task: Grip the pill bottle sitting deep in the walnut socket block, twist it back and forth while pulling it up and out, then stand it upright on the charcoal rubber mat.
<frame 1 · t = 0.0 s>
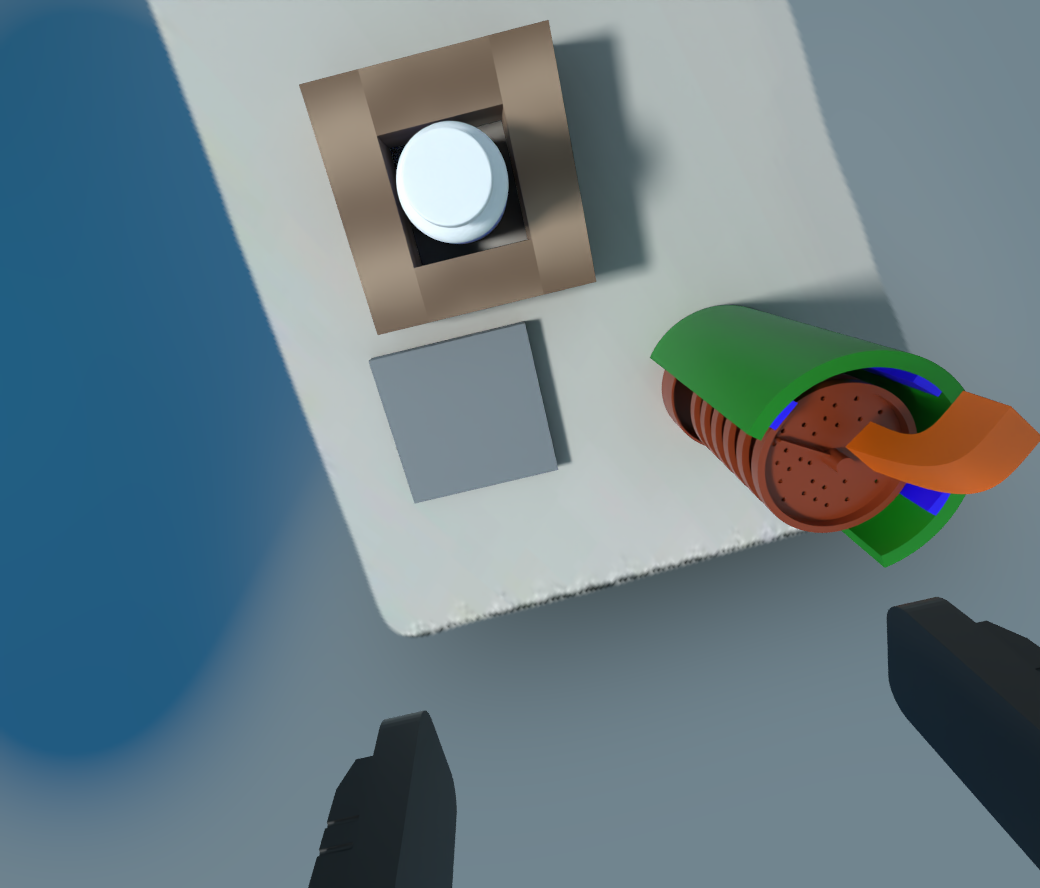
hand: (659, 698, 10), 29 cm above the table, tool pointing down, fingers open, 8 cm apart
green brown cylinder: (722, 374, 39), on the table
pill bottle: (460, 195, 34), resting in socket block
mat: (467, 413, 38), on the table
socket block: (460, 195, 34), on the table
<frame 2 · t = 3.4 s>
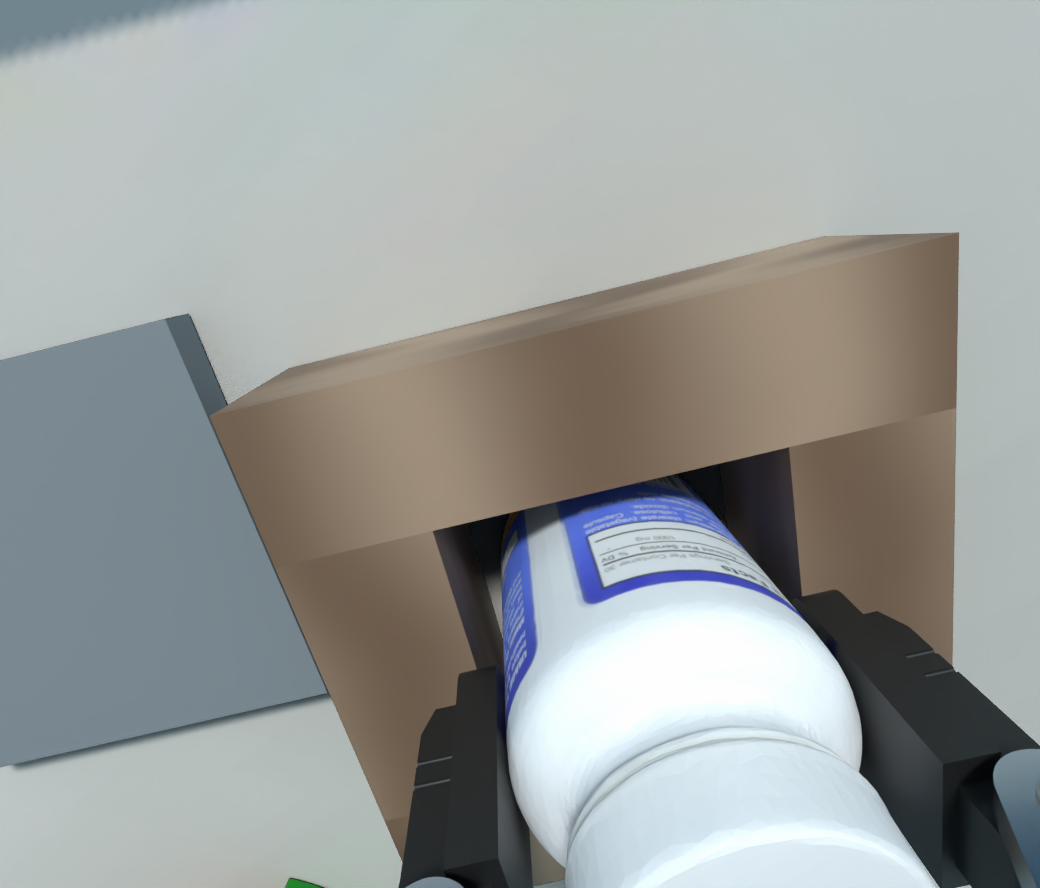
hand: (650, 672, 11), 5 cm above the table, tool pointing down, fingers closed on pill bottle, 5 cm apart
pill bottle: (601, 536, 16), resting in socket block, touching gripper
mat: (83, 554, 15), on the table
socket block: (602, 540, 15), on the table
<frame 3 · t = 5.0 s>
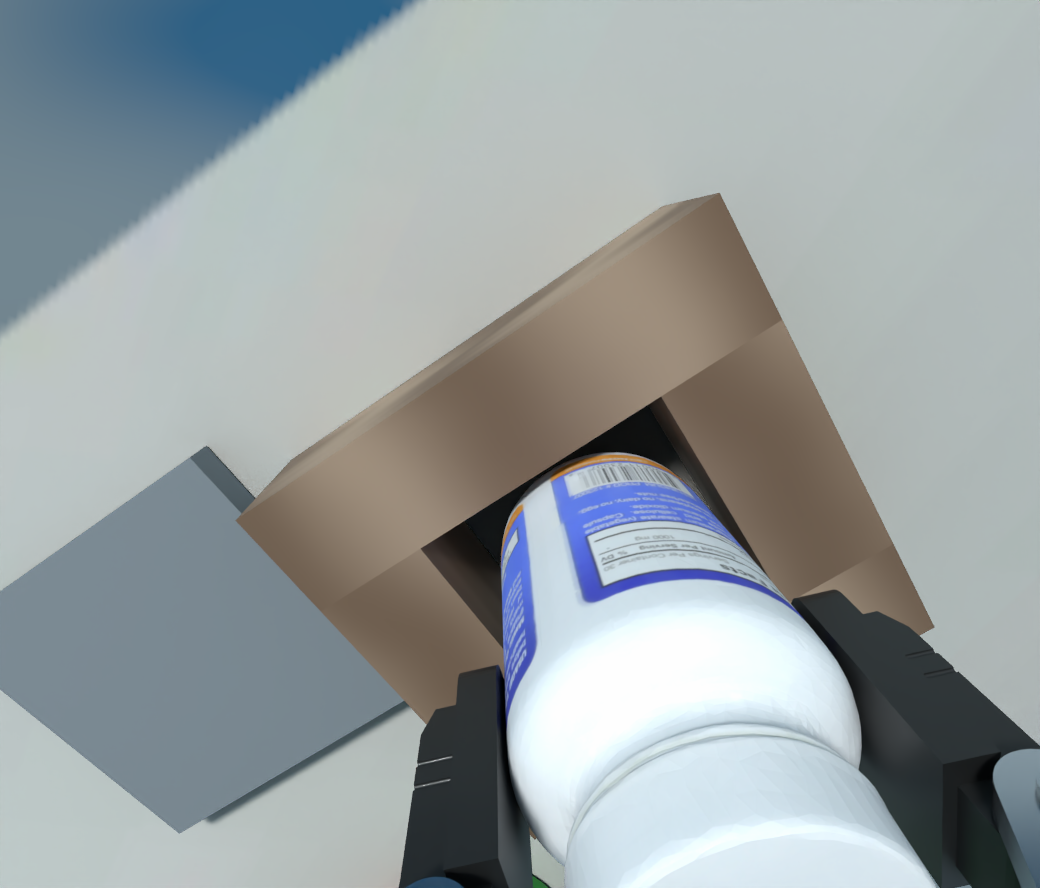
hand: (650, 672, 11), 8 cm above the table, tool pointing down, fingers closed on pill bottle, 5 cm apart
pill bottle: (601, 537, 16), point 3 cm above the table, touching gripper
mat: (199, 647, 19), on the table
socket block: (584, 508, 18), on the table
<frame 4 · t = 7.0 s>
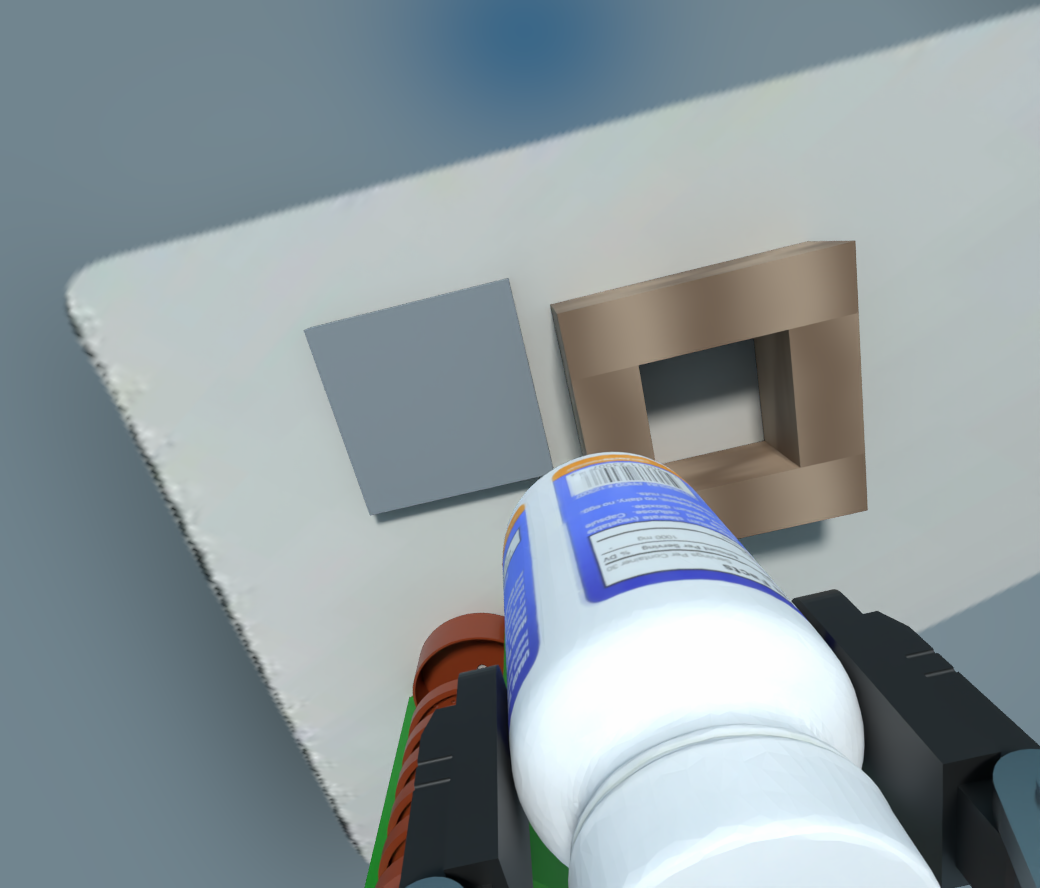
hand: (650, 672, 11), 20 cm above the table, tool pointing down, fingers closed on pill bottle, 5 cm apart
green brown cylinder: (491, 667, 36), on the table
pill bottle: (602, 537, 16), point 15 cm above the table, touching gripper
mat: (436, 399, 30), on the table
socket block: (695, 396, 30), on the table
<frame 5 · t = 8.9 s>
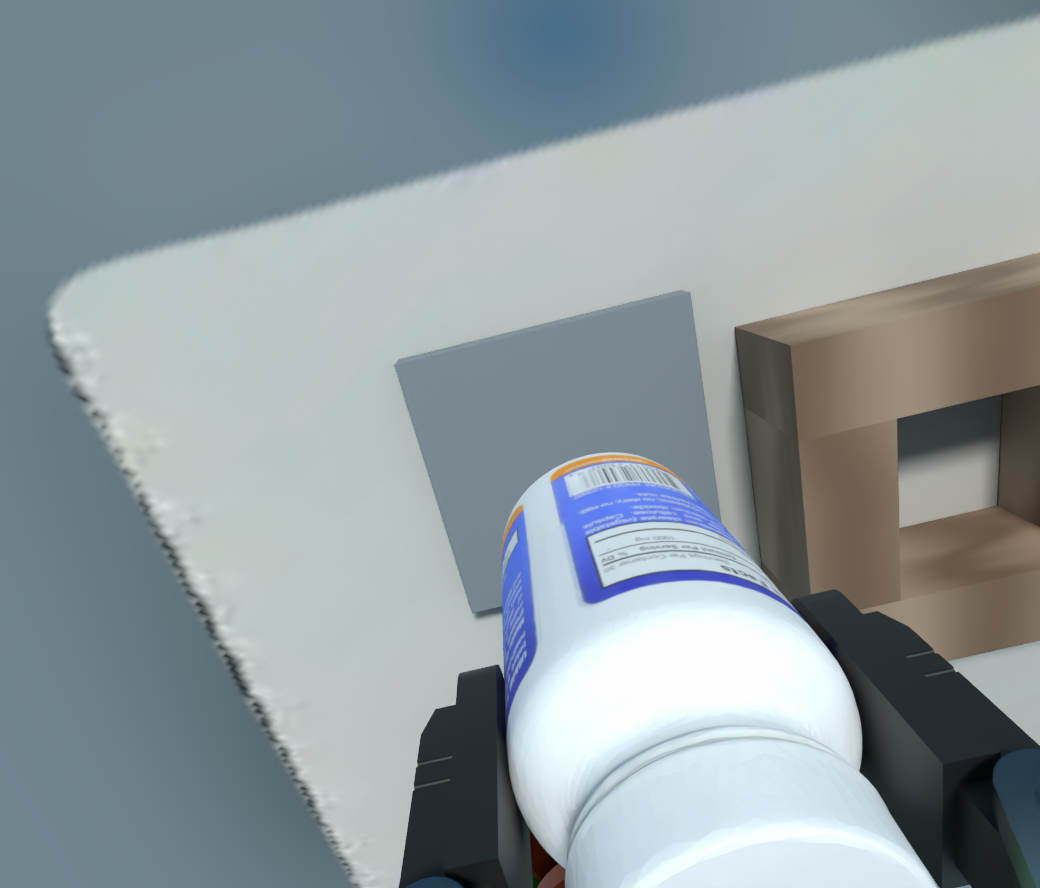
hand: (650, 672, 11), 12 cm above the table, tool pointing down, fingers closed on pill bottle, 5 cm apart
green brown cylinder: (610, 791, 27), on the table
pill bottle: (601, 538, 16), point 6 cm above the table, touching gripper
mat: (568, 457, 22), on the table
socket block: (915, 449, 22), on the table
when the fingers open (7 cm above the table, at t = 10.7 s): pill bottle moves 1 cm, resting on mat.
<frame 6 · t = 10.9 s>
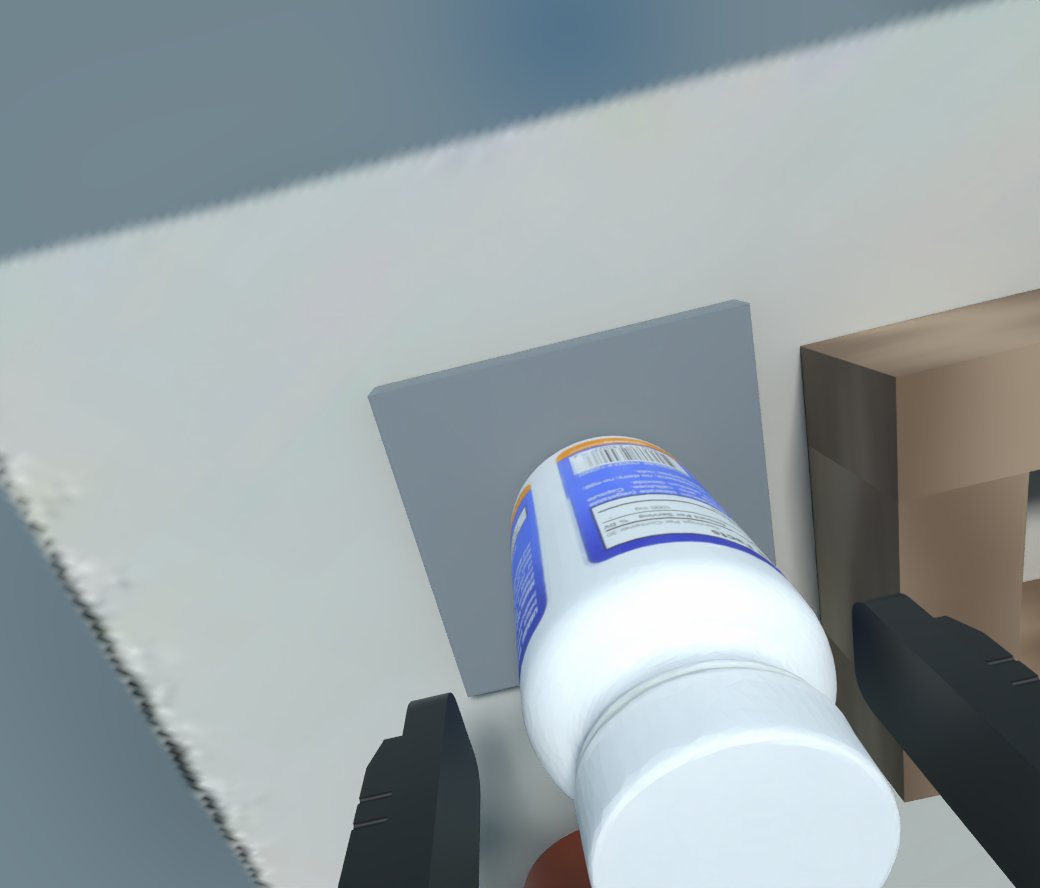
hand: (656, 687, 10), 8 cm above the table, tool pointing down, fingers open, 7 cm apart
pill bottle: (603, 517, 17), point 1 cm above the table, touching mat
mat: (587, 506, 17), on the table
socket block: (1016, 495, 18), on the table
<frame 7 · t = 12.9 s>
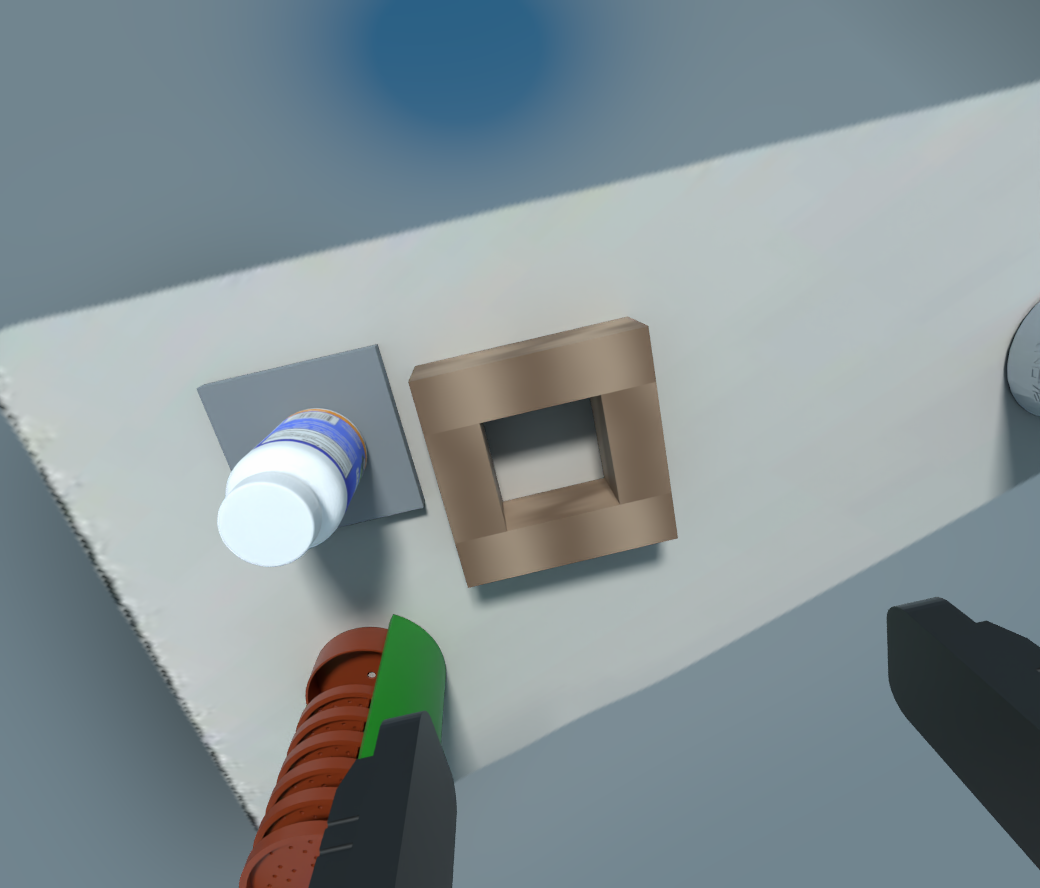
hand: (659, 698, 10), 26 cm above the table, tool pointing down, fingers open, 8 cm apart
green brown cylinder: (380, 674, 40), on the table
pill bottle: (322, 449, 34), point 1 cm above the table, touching mat
mat: (320, 445, 34), on the table
socket block: (543, 441, 36), on the table
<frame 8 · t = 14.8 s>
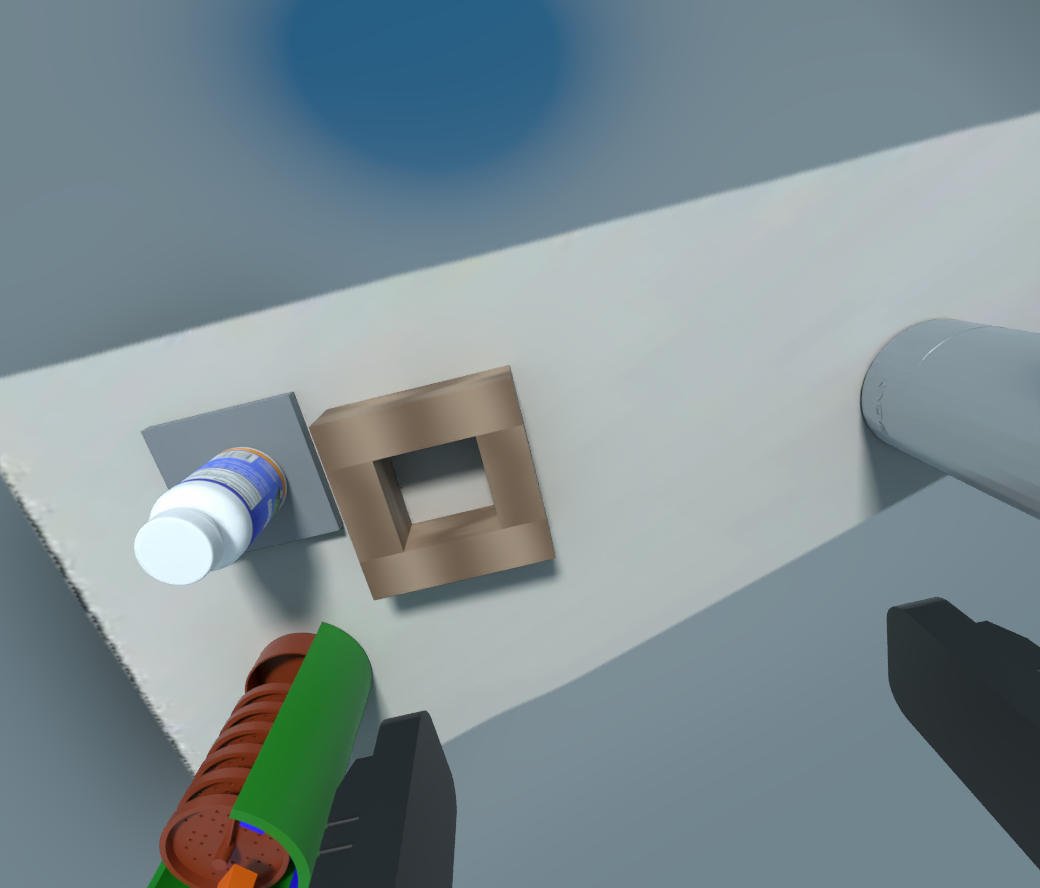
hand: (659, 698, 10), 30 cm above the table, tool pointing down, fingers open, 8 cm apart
green brown cylinder: (315, 674, 46), on the table
pill bottle: (249, 480, 39), point 1 cm above the table, touching mat
mat: (249, 477, 40), on the table
socket block: (443, 472, 41), on the table
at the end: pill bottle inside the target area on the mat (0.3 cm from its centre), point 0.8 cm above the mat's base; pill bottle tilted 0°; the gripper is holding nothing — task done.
